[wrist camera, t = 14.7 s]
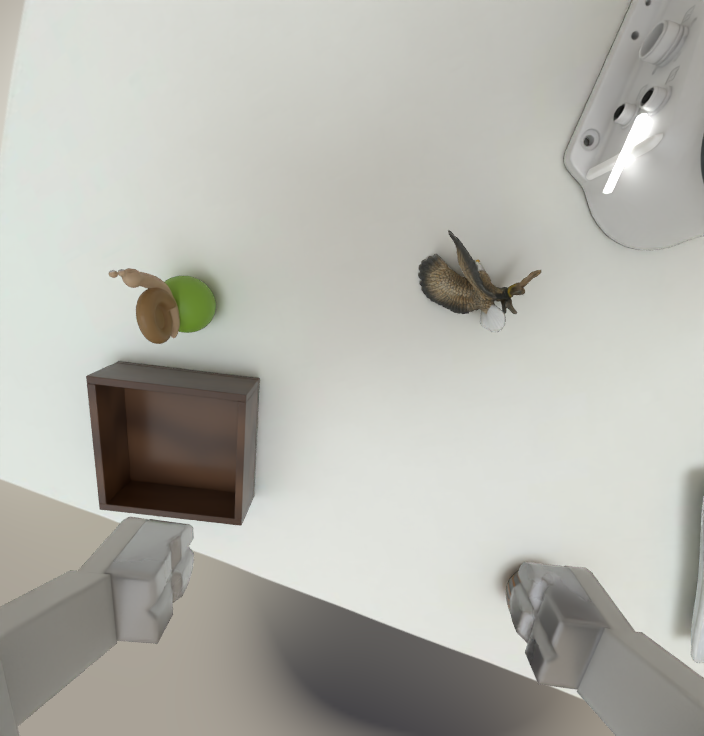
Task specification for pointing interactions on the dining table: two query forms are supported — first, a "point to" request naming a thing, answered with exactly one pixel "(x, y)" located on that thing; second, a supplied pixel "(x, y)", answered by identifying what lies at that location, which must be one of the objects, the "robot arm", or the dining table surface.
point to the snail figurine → (169, 304)
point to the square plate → (699, 606)
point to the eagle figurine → (469, 288)
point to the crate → (174, 441)
